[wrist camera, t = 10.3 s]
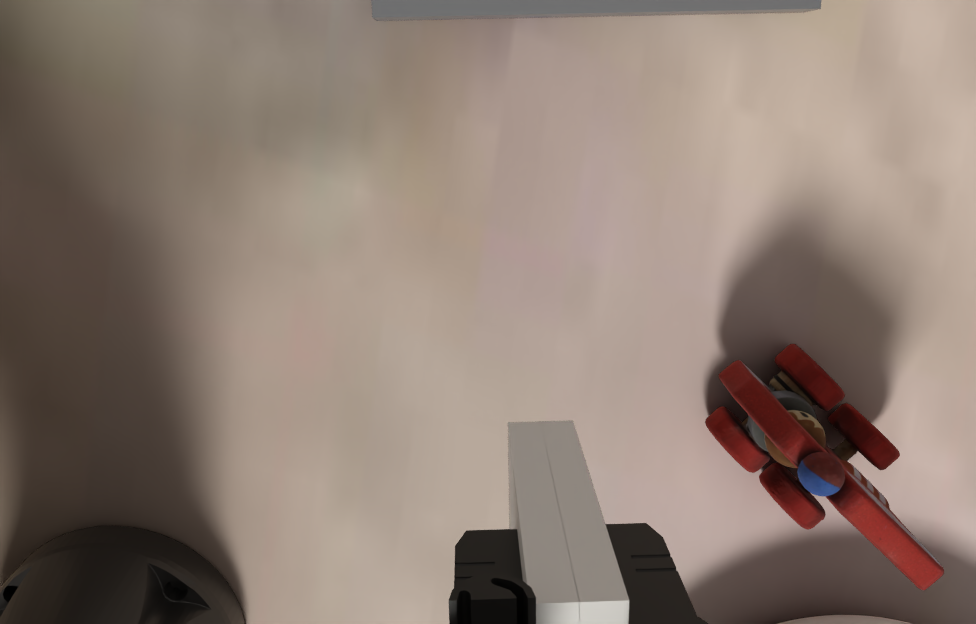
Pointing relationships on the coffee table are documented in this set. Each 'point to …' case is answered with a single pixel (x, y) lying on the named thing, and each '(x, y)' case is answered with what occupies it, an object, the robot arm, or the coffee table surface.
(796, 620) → the bowl
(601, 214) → the coffee table surface
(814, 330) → the coffee table surface
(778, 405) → the toy fire truck
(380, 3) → the frame
